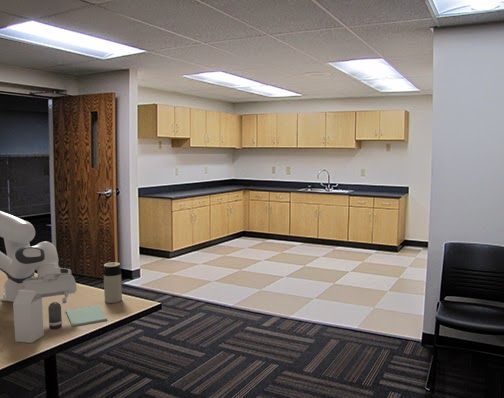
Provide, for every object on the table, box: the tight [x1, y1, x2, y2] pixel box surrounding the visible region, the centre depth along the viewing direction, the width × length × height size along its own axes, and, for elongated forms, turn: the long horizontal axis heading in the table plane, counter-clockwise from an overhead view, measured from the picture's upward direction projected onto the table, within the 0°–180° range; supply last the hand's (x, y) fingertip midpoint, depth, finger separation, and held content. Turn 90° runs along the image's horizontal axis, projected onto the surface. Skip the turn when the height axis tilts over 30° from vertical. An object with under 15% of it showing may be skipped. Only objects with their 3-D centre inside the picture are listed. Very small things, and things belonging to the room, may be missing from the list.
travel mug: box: [103, 261, 123, 304], centre depth 220 cm, size 8×8×18 cm
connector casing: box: [47, 301, 63, 330], centre depth 187 cm, size 5×5×10 cm
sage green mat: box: [65, 304, 108, 327], centre depth 200 cm, size 20×14×1 cm
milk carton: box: [12, 290, 45, 344], centre depth 175 cm, size 7×7×19 cm
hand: (52, 304), depth 190 cm, fingers open, 8 cm apart
